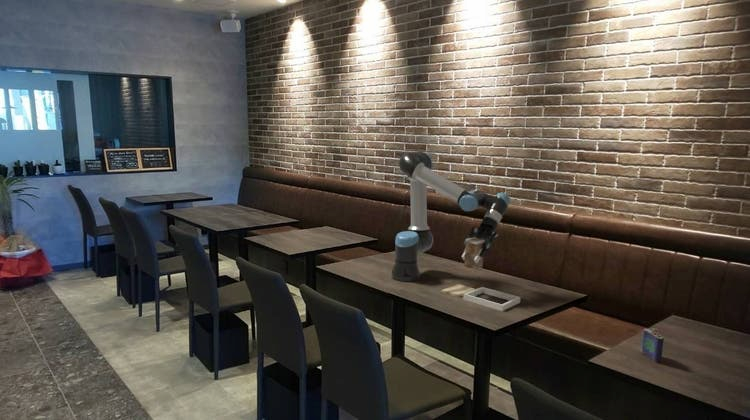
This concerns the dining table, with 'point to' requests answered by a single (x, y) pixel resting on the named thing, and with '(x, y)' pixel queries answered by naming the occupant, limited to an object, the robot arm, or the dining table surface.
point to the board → (457, 290)
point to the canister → (473, 252)
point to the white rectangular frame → (501, 307)
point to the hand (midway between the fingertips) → (469, 260)
